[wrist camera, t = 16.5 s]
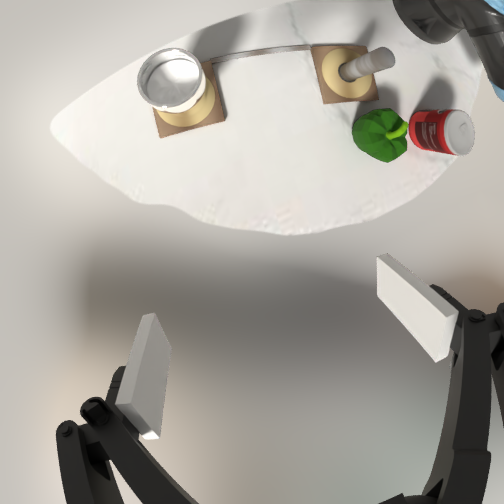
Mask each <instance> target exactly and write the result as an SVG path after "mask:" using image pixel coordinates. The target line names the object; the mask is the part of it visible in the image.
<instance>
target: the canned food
mask: <svg viewBox="0 0 504 504" xmlns="http://www.w3.org/2000/svg"><path fill="white" fill-rule="evenodd" d="M409 135H410V138H411V140H412V142H413V143H414V144H415V145H416V146H417V147H419V148H421V149H423V150H429V151H435V152H441V153H446V154H452V155H457V156H464V155H467V154H468V153H469V152H470V151H471V149H472V147H473V144H474V139H475V131H474V126H473V123H472V121H471V119H470V117H469V116H468V114H467V113H465V112H464V111H462V110H452V109H445V110H421V111H418V112H416V113H415V114H414V115H413V116H412V117H411V119H410V122H409Z"/></svg>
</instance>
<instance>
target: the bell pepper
mask: <svg viewBox="0 0 504 504" xmlns="http://www.w3.org/2000/svg"><path fill="white" fill-rule="evenodd" d="M407 128H408V123H407V122H405V121H404V120H403V119H402V118H401V117H400V116H399V115H398V114H397V113H395V112H394V111H393V110H392V109H390V108H388V109H376V110H373V111H371V112H369V113H368V114H366V115H363V116H362V117H360V118H359V119H358V120H357V121H356V122H355V123H354V126H353V130H352V135H353V139H354V142H355V143H356V145H357V146H358V148H359V149H361V150H362V151H364V152H366V153H367V154H369V155H370V156H372V157H374V158H376V159H378V160H380V161H383V162H387V163H388V162H390V161H392V160H394V159H396V158H398V157H399V156H400V155H401V154H403V153H404V152H405V151H407V140H406V138H405V136H406V134H407Z"/></svg>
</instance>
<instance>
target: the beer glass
mask: <svg viewBox="0 0 504 504" xmlns="http://www.w3.org/2000/svg"><path fill="white" fill-rule="evenodd" d="M137 85H138V90H139V92H140V94H141V96H142V97H143V98H144V99H145V100H146V101H147V102H148V103H149V104H150V105H151V106H152V107H154V108H155V109H157V110H159V111H161V112H164V113H167V114H173V115H175V116H178V117H189V116H192V115H194V114H196V113H197V112H199V111H200V110H201V108H202V107H203V105H204V103H205V99H206V94H205V90H206V77H205V73H204V71H203V68H202V66H201V64H200V62H199V61H198V59H197V58H196V57H195V56H194V55H193V54H192V53H190V52H189V51H186V50H184V49H180V48H168V49H163V50H160V51H158V52H156V53H154V54H153V55H151V56H150V57H149V58H148V59H147V60H146V61H145V62H144V63H143V65H142V66H141V68H140V71H139V73H138V78H137Z"/></svg>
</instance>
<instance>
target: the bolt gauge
mask: <svg viewBox="0 0 504 504" xmlns="http://www.w3.org/2000/svg"><path fill="white" fill-rule="evenodd" d="M300 50H311V54H312V57H313V61H314V65H315V69H316V73H317V77H318V82H319V86H320V90H321V95H322V99H323V104H331V103H341V102H354V101H370V100H379V97H378V93H377V88H376V83H375V79H374V75H373V73H375V72H378V71H381V70H385V69H388V68H391V67H393V66H394V64H395V57H394V55H393V53H392V52H391V51H390V50H389V49H388V48H385V47H380V48H377V49H375V50H373V51H371V52H369V53H368V51H367V47H366V46H317V47H312V48H311V47H310V45H303V46H290V47H280V48H271V49H263V50H256V51H249V52H243V53H237V54H232V55H226V56H221V57H217V58H212V59H210V61H207V62H203V63H200V64H201V66H202V68H203V71H204V73H205V77H206V90H205V94H206V99H205V103H204V105H203V107H202V108H201V110H200V111H199V112H197V113H196V114H194V115H192V116H189V117H178V116H175V115H173V114H167V113H164V112H161V111H159V110H157V109H155V108H154V107H153V112H154V116H155V120H156V124H157V128H158V133H159V137H160V138H164V137H167V136H170V135H174V134H177V133H181V132H184V131H188V130H191V129H195V128H199V127H203V126H207V125H211V124H215V123H219V122H223V121H225V118H224V114H223V110H222V106H221V101H220V97H219V93H218V89H217V84H216V80H215V76H214V72H213V68H212V63H217V62H222V61H227V60H232V59H237V58H243V57H249V56H256V55H263V54H270V53H279V52H288V51H300Z"/></svg>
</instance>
